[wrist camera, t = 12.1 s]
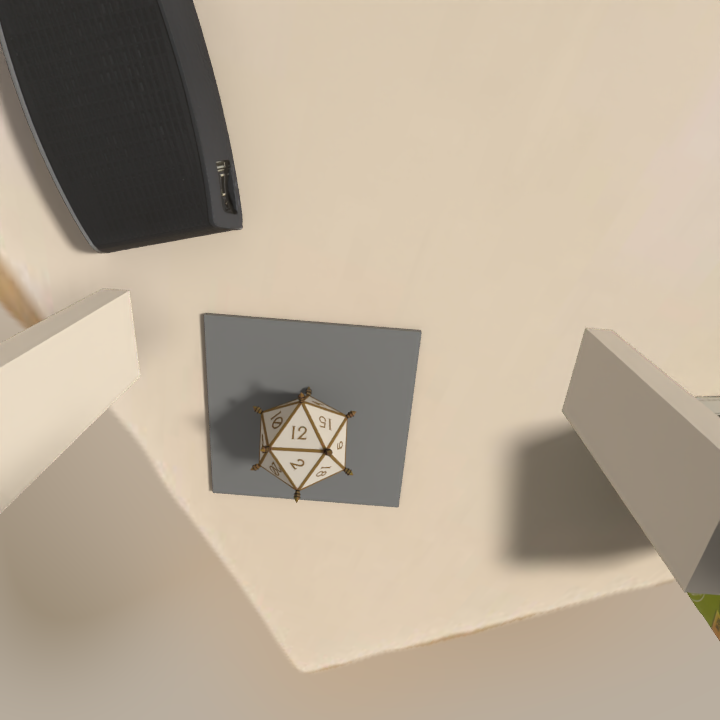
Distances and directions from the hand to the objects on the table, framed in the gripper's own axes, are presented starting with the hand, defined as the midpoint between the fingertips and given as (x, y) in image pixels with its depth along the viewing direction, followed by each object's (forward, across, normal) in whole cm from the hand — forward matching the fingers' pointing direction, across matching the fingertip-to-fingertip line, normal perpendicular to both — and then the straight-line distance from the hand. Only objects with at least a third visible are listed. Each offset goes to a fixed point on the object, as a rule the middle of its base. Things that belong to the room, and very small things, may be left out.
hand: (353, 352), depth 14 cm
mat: (+25, -4, -17) cm, 31 cm away
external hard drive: (+26, -18, +7) cm, 32 cm away
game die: (+24, -4, -17) cm, 30 cm away
